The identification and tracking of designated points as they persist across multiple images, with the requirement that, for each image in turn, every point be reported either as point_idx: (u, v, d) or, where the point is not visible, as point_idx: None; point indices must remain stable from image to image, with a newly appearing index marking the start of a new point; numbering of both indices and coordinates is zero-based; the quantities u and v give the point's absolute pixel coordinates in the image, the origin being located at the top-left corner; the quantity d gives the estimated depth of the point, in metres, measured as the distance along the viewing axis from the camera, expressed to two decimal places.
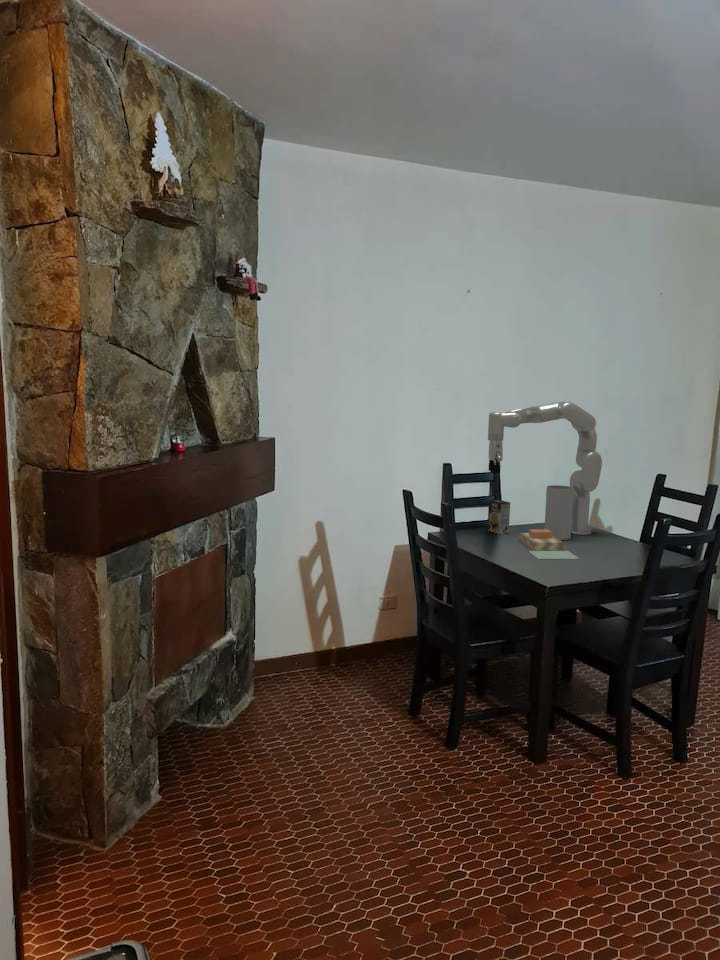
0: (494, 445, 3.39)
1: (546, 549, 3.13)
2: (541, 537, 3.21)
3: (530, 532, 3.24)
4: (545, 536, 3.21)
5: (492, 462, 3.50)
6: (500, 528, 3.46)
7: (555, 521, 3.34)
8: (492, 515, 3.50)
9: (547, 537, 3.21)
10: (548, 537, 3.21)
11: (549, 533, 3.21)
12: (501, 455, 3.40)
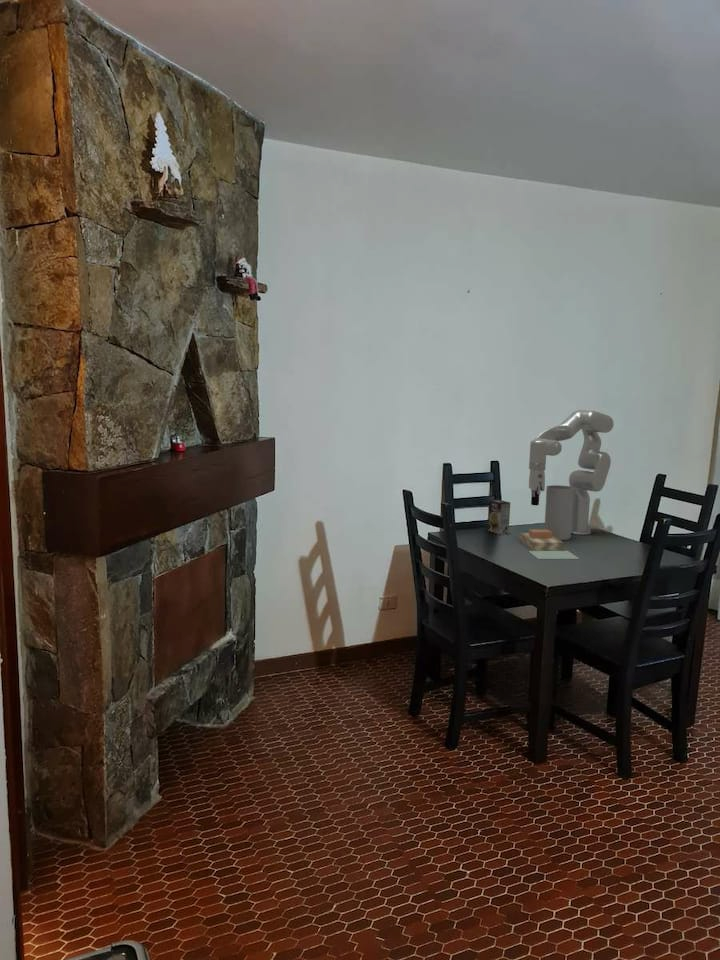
0: (536, 475, 3.24)
1: (546, 549, 3.13)
2: (541, 537, 3.21)
3: (530, 532, 3.24)
4: (545, 536, 3.21)
5: None
6: (500, 528, 3.46)
7: (555, 521, 3.34)
8: (492, 515, 3.50)
9: (547, 537, 3.21)
10: (548, 537, 3.21)
11: (549, 533, 3.21)
12: (543, 485, 3.24)
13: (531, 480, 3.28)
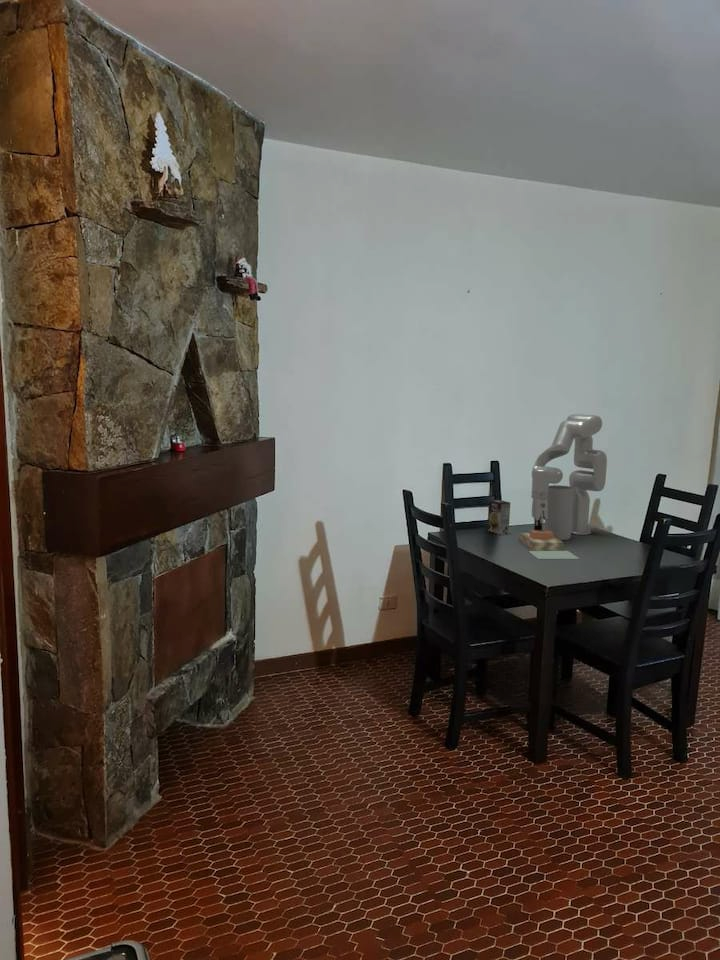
0: (539, 504, 3.20)
1: (546, 549, 3.13)
2: (542, 538, 3.19)
3: (531, 533, 3.22)
4: (546, 536, 3.19)
5: None
6: (500, 528, 3.46)
7: (555, 521, 3.34)
8: (492, 515, 3.50)
9: (548, 538, 3.19)
10: (549, 538, 3.19)
11: (550, 534, 3.19)
12: (546, 515, 3.21)
13: (534, 509, 3.25)
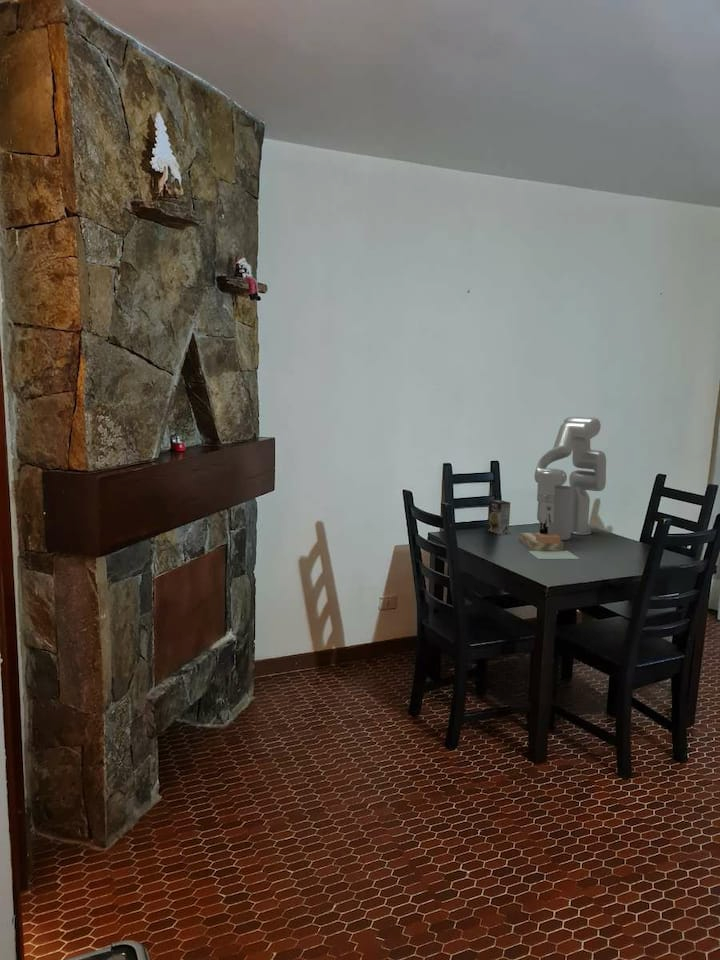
0: (544, 507, 3.12)
1: (546, 549, 3.13)
2: (549, 542, 3.11)
3: (537, 537, 3.14)
4: (553, 541, 3.11)
5: None
6: (500, 528, 3.46)
7: (555, 521, 3.34)
8: (492, 515, 3.50)
9: (555, 542, 3.11)
10: (556, 542, 3.11)
11: (557, 538, 3.11)
12: (552, 518, 3.13)
13: (539, 512, 3.17)
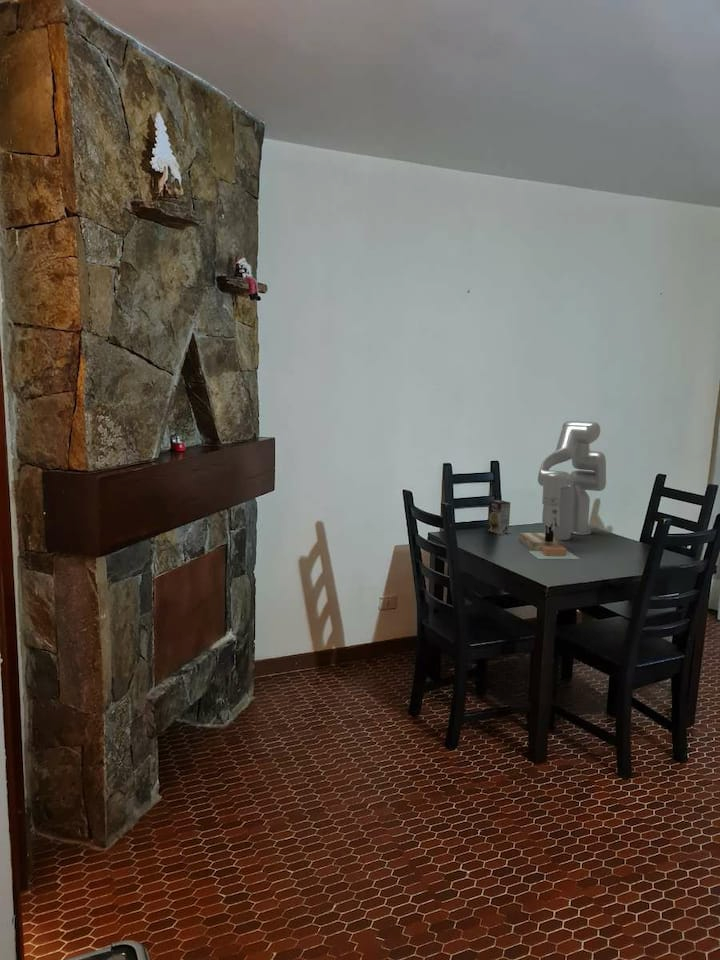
0: (550, 510, 3.05)
1: None
2: None
3: (544, 552, 3.06)
4: None
5: None
6: (500, 528, 3.46)
7: None
8: (492, 515, 3.50)
9: None
10: None
11: None
12: (558, 521, 3.05)
13: (545, 515, 3.09)
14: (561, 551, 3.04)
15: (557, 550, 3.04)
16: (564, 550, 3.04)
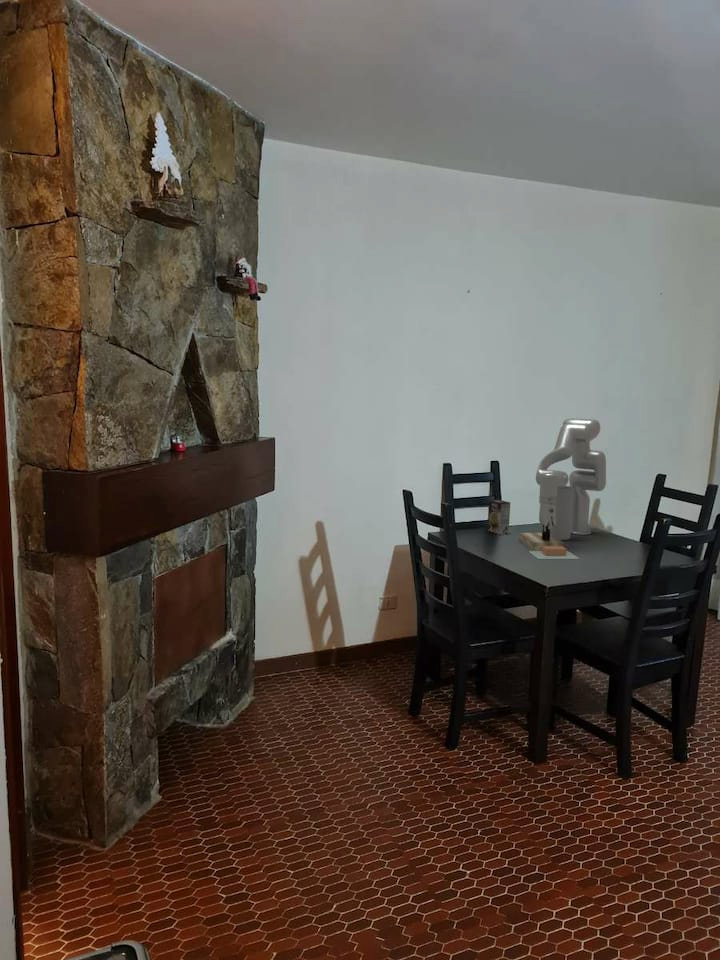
0: (547, 509, 3.10)
1: None
2: None
3: (544, 552, 3.06)
4: None
5: None
6: (500, 528, 3.46)
7: None
8: (492, 515, 3.50)
9: None
10: None
11: None
12: (555, 520, 3.10)
13: (542, 514, 3.14)
14: (561, 551, 3.04)
15: (557, 550, 3.04)
16: (564, 550, 3.04)
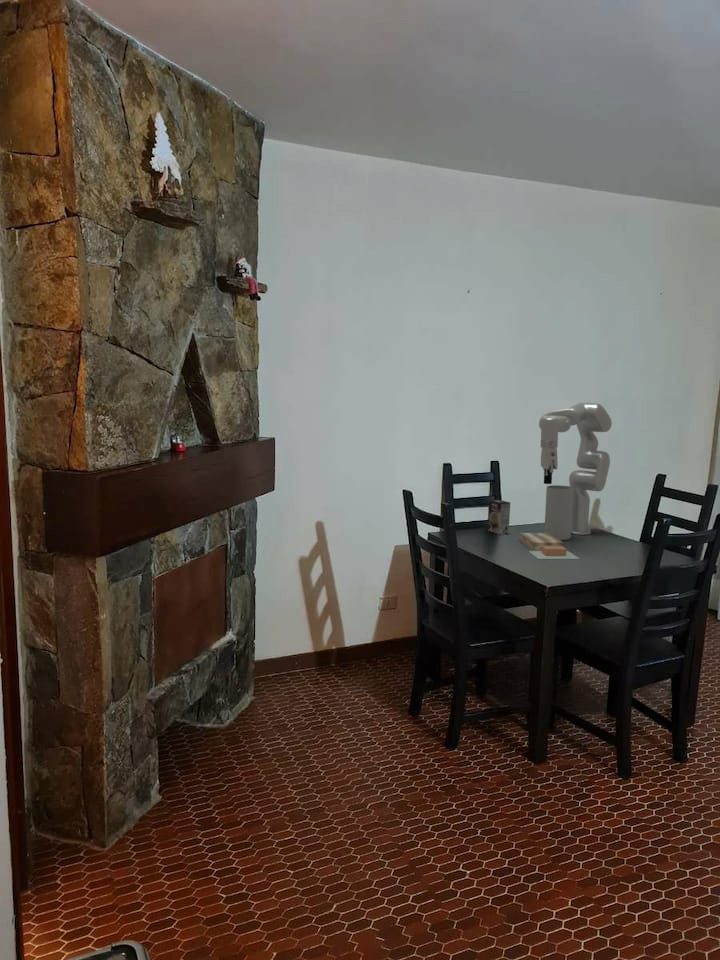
0: (548, 453, 3.16)
1: None
2: None
3: (544, 552, 3.06)
4: None
5: None
6: (500, 528, 3.46)
7: (555, 521, 3.34)
8: (492, 515, 3.50)
9: None
10: None
11: None
12: (556, 463, 3.17)
13: (543, 458, 3.21)
14: (561, 551, 3.04)
15: (557, 550, 3.04)
16: (564, 550, 3.04)
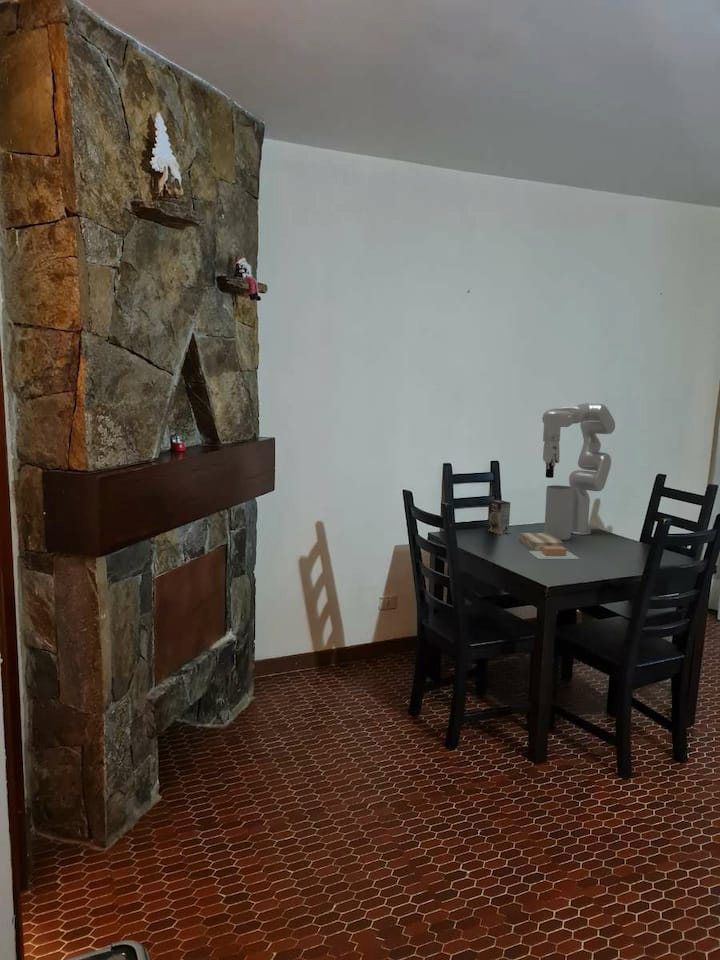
0: (551, 446, 3.20)
1: None
2: None
3: (544, 552, 3.06)
4: None
5: None
6: (500, 528, 3.46)
7: (555, 521, 3.34)
8: (492, 515, 3.50)
9: None
10: None
11: None
12: (558, 457, 3.20)
13: (545, 452, 3.24)
14: (561, 551, 3.04)
15: (557, 550, 3.04)
16: (564, 550, 3.04)
